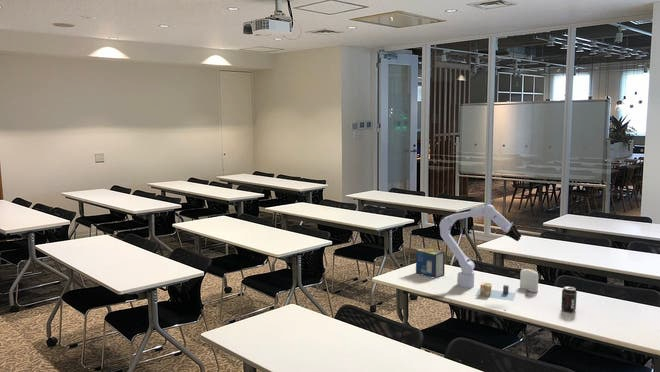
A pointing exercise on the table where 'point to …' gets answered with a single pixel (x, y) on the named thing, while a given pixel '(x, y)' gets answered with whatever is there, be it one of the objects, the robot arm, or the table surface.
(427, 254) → the protein box
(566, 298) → the beverage can
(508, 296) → the light blue flat board
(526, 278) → the photo printer
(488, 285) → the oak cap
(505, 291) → the black metal post
